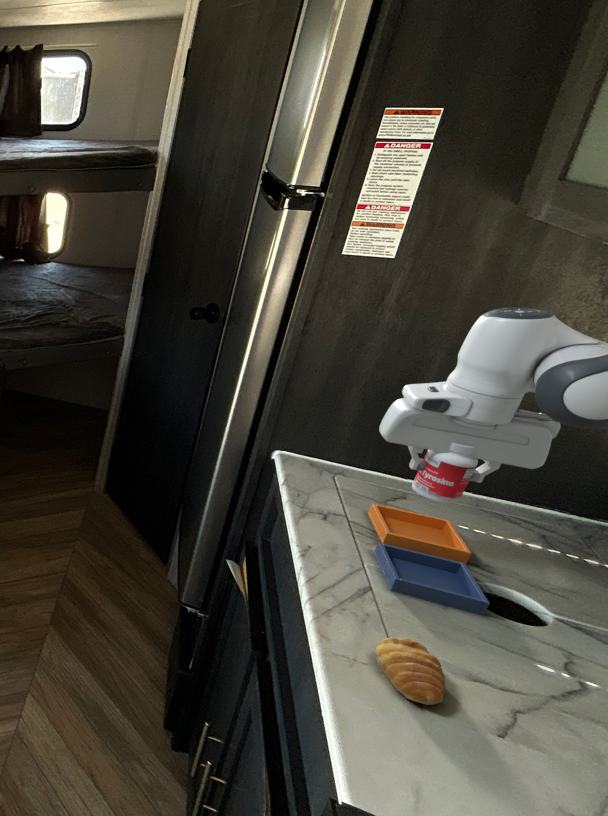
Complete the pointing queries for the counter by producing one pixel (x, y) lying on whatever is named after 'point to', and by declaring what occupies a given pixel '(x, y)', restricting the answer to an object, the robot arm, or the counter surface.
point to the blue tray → (430, 578)
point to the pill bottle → (446, 474)
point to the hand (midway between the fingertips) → (443, 474)
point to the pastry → (411, 669)
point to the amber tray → (418, 533)
